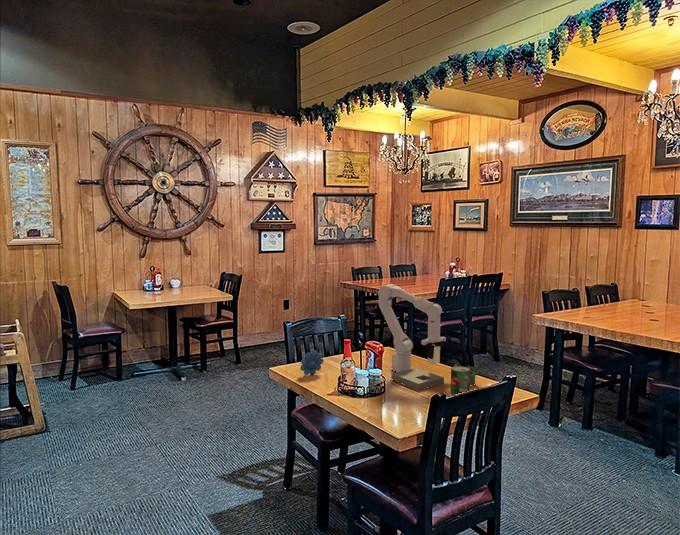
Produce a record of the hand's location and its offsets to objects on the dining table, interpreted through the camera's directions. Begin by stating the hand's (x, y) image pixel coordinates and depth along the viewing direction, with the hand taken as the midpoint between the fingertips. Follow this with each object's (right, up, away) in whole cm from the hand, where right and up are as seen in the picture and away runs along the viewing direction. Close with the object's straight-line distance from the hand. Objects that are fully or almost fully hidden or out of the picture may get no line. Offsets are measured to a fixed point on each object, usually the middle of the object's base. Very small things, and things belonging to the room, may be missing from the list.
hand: (433, 357), depth 239 cm
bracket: (+13, -10, -10) cm, 19 cm away
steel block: (0, -2, 0) cm, 2 cm away
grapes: (-59, -9, +3) cm, 59 cm away
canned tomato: (+7, -11, -24) cm, 27 cm away
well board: (-9, -10, -8) cm, 16 cm away
